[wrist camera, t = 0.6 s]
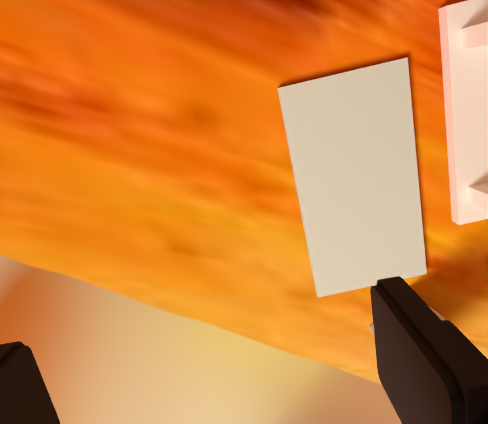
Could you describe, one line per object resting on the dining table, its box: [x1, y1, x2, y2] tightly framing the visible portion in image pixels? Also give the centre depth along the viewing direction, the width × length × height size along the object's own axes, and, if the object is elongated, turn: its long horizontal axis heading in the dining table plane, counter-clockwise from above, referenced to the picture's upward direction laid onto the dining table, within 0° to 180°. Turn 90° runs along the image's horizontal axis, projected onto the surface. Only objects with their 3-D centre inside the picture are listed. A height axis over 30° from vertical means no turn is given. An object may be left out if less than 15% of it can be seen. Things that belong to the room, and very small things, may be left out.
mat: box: [277, 57, 427, 297], centre depth 45 cm, size 26×14×1 cm, turn 13°
